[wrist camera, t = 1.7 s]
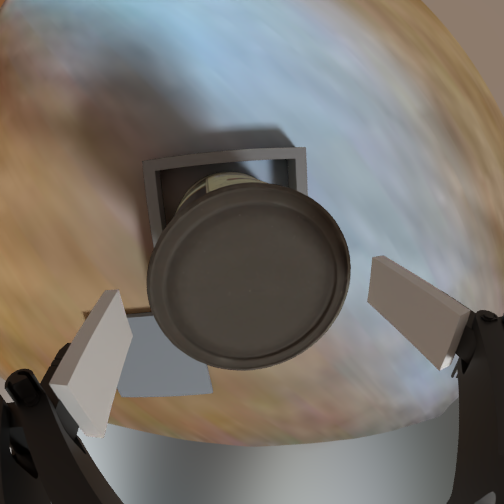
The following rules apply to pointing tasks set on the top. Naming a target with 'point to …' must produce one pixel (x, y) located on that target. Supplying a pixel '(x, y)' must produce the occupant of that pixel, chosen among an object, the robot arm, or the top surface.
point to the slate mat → (159, 364)
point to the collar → (153, 167)
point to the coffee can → (247, 273)
